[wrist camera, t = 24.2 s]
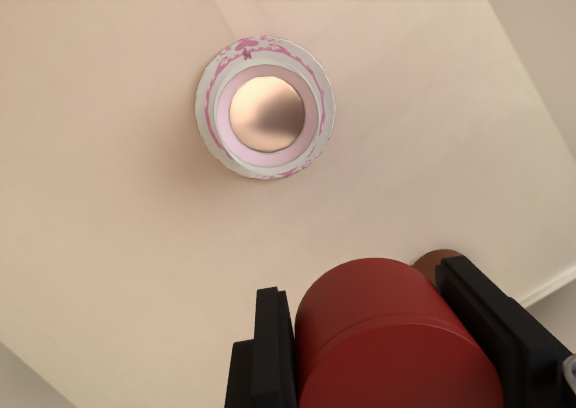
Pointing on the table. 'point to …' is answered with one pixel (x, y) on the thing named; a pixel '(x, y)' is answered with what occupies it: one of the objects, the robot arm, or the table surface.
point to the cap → (387, 343)
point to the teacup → (265, 107)
